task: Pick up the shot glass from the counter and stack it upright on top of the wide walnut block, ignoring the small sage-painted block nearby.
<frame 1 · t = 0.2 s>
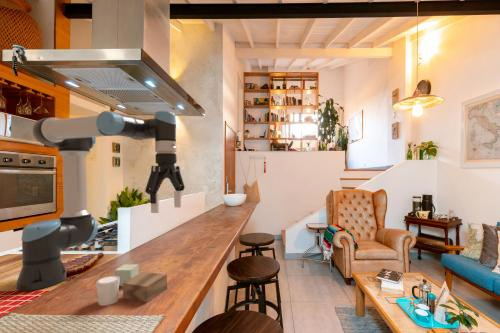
hand: (167, 210, 98), 27 cm above the counter, fingers open, 13 cm apart
shot glass: (108, 301, 85), on the counter
walnut block: (145, 293, 90), on the counter
sage block: (127, 283, 99), on the counter
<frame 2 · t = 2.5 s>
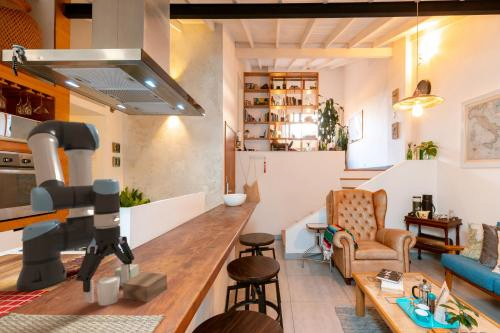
hand: (108, 292, 85), 3 cm above the counter, fingers open, 13 cm apart
nothing on the counter moved.
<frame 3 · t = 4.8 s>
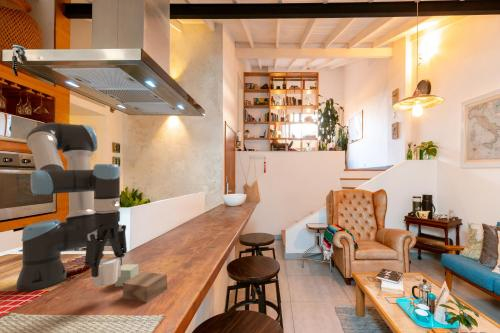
hand: (107, 280, 86), 6 cm above the counter, fingers closed on shot glass, 7 cm apart
shot glass: (107, 282, 86), point 6 cm above the counter, touching gripper
everything else where it was.
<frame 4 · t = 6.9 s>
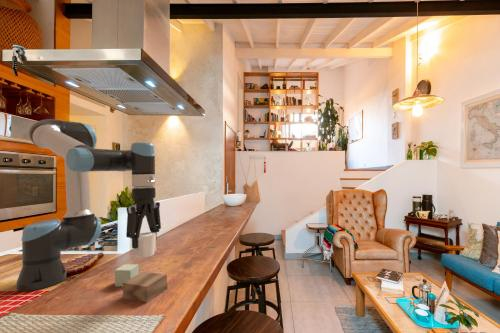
hand: (145, 253, 91), 14 cm above the counter, fingers closed on shot glass, 7 cm apart
shot glass: (145, 255, 91), point 13 cm above the counter, touching gripper
everything else where it was.
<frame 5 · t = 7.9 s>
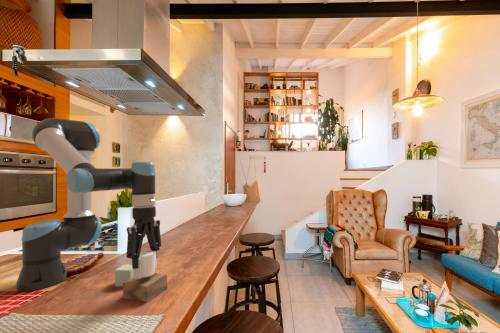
hand: (145, 273, 90), 7 cm above the counter, fingers closed on shot glass, 7 cm apart
shot glass: (145, 274, 90), point 6 cm above the counter, touching gripper
everything else where it was.
when the fingers open (6 cm above the counter, at t = 8.9 s): shot glass stays where it is, resting on walnut block.
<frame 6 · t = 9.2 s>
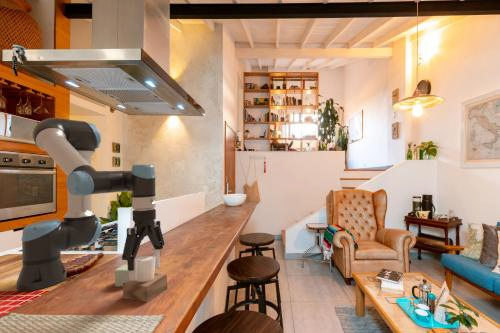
hand: (145, 273, 90), 7 cm above the counter, fingers open, 10 cm apart
shot glass: (145, 279, 90), point 5 cm above the counter, touching walnut block
everything else where it was.
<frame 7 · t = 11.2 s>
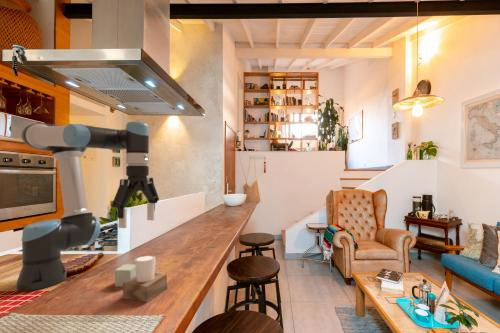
hand: (137, 223, 95), 23 cm above the counter, fingers open, 13 cm apart
nothing on the counter moved.
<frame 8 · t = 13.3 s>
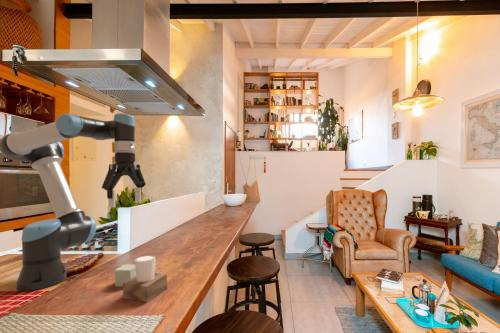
hand: (125, 204, 106), 29 cm above the counter, fingers open, 13 cm apart
nothing on the counter moved.
at the end: shot glass inside the target area on the walnut block (0.0 cm from its centre), point 4.8 cm above the walnut block's base; shot glass tilted 0°; the gripper is holding nothing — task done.
